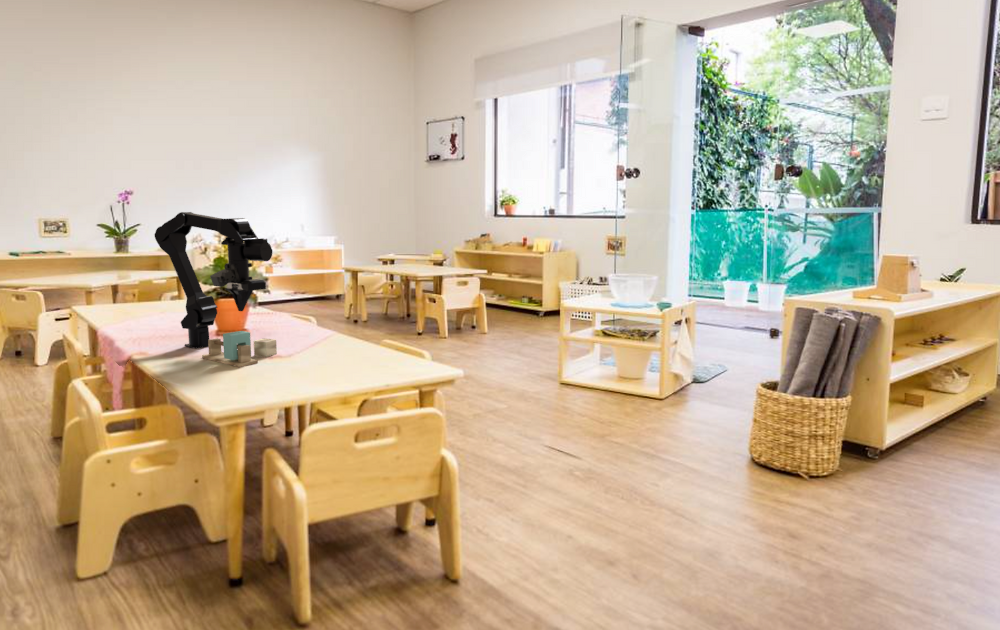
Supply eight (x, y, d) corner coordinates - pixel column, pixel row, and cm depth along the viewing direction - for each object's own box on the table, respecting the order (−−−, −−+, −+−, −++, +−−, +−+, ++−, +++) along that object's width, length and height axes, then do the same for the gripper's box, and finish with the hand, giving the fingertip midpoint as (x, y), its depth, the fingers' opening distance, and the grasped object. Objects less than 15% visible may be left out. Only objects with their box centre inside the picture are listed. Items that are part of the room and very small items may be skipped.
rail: (202, 357, 203) (201, 340, 202) (221, 354, 208) (220, 337, 207) (239, 366, 193) (238, 348, 192) (257, 363, 197) (257, 345, 197)
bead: (224, 358, 196) (222, 333, 195) (242, 354, 201) (241, 330, 200) (232, 360, 194) (231, 335, 193) (251, 356, 199) (250, 332, 198)
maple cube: (254, 355, 207) (253, 341, 206) (264, 352, 211) (264, 338, 210) (266, 357, 205) (266, 342, 205) (276, 354, 209) (276, 339, 209)
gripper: (196, 259, 209) (199, 311, 212) (232, 263, 198) (235, 317, 201) (229, 257, 218) (231, 306, 221) (266, 261, 207) (268, 313, 210)
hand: (240, 311), depth 213 cm, fingers closed
